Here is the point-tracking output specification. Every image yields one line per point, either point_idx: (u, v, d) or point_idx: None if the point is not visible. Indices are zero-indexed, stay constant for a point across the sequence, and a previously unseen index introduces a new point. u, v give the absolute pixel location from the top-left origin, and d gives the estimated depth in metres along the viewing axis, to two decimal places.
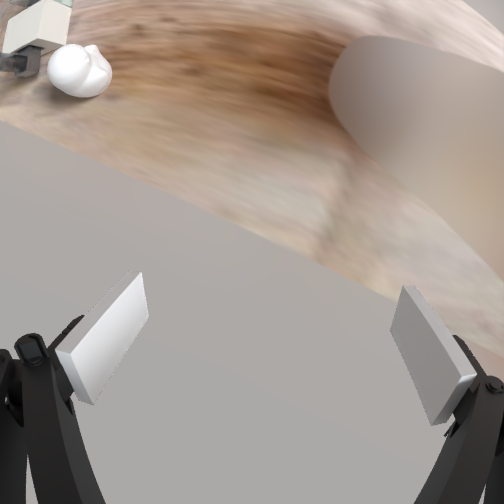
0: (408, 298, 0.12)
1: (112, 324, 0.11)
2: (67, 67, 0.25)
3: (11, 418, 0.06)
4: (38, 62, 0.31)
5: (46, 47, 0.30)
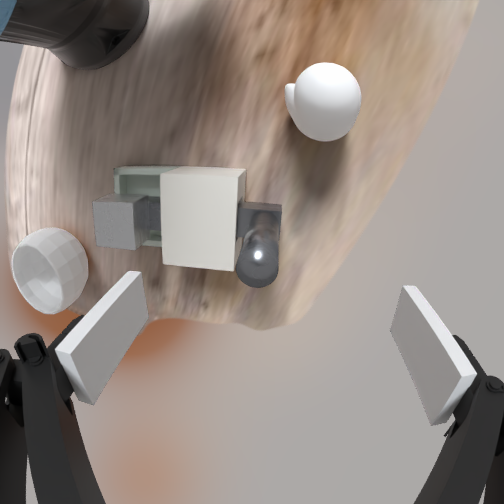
0: (408, 298, 0.12)
1: (112, 324, 0.11)
2: (345, 73, 0.20)
3: (11, 418, 0.06)
4: (265, 203, 0.33)
5: (242, 194, 0.34)
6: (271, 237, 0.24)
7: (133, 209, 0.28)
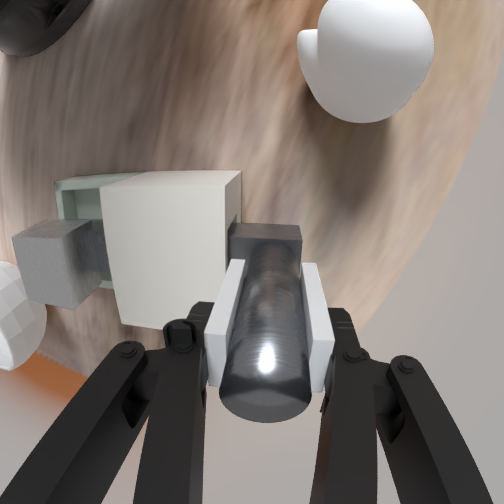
0: (302, 273, 0.15)
1: (236, 307, 0.13)
2: None
3: (123, 419, 0.07)
4: (274, 225, 0.21)
5: (237, 210, 0.22)
6: (291, 311, 0.11)
7: (61, 249, 0.16)
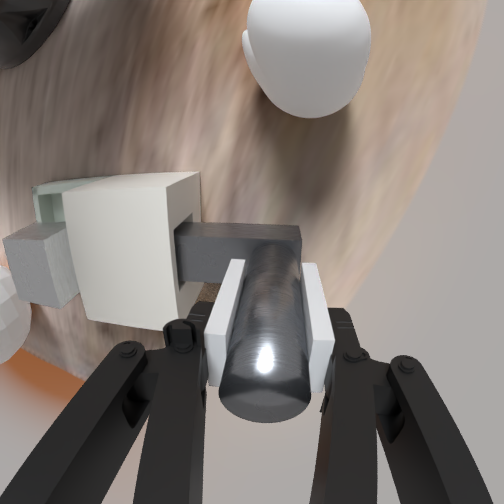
0: (302, 273, 0.15)
1: (236, 307, 0.13)
2: None
3: (123, 419, 0.07)
4: (274, 225, 0.21)
5: (192, 210, 0.22)
6: (290, 311, 0.11)
7: (47, 250, 0.16)
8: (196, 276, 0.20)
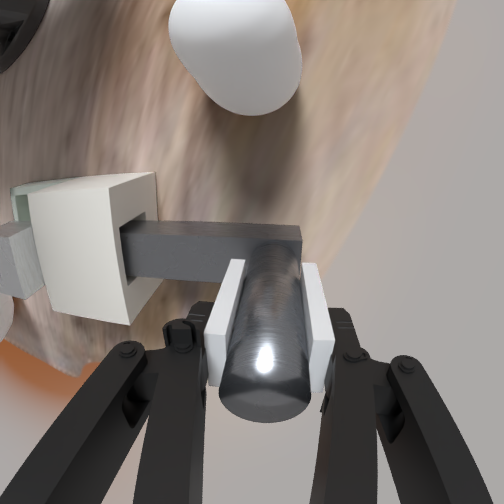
0: (302, 273, 0.15)
1: (236, 307, 0.13)
2: None
3: (123, 419, 0.07)
4: (274, 225, 0.21)
5: (145, 209, 0.22)
6: (290, 311, 0.11)
7: (12, 246, 0.16)
8: (196, 275, 0.20)
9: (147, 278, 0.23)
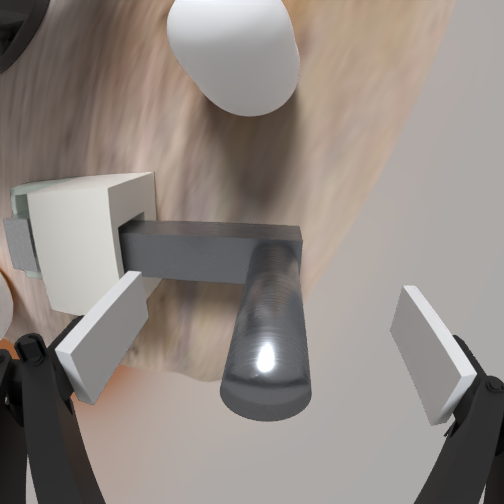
0: (408, 298, 0.12)
1: (112, 324, 0.11)
2: None
3: (11, 418, 0.06)
4: (274, 226, 0.21)
5: (144, 209, 0.22)
6: (291, 310, 0.12)
7: (5, 227, 0.20)
8: (197, 275, 0.20)
9: (146, 278, 0.23)
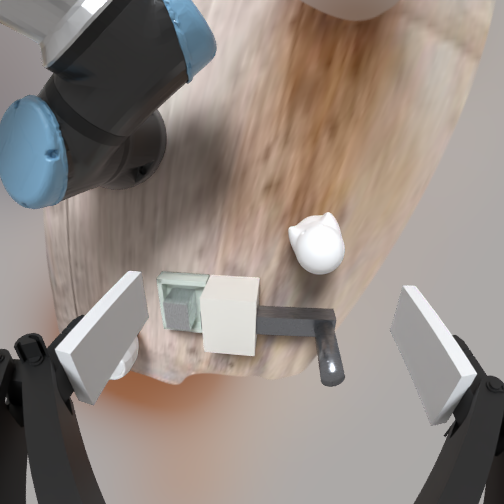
0: (408, 298, 0.12)
1: (112, 324, 0.11)
2: (333, 242, 0.33)
3: (11, 418, 0.06)
4: (322, 309, 0.45)
5: (258, 299, 0.47)
6: (337, 353, 0.36)
7: (164, 306, 0.45)
8: (290, 333, 0.44)
9: None
